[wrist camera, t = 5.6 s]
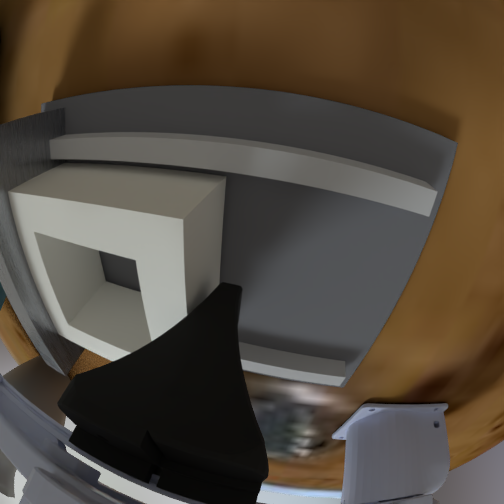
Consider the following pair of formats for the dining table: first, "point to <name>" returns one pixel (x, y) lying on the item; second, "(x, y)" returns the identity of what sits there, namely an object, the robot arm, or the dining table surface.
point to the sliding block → (120, 248)
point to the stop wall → (7, 239)
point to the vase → (41, 395)
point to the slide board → (283, 207)
